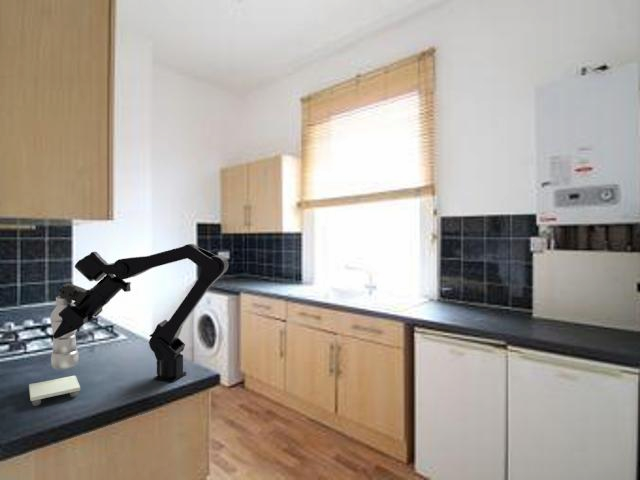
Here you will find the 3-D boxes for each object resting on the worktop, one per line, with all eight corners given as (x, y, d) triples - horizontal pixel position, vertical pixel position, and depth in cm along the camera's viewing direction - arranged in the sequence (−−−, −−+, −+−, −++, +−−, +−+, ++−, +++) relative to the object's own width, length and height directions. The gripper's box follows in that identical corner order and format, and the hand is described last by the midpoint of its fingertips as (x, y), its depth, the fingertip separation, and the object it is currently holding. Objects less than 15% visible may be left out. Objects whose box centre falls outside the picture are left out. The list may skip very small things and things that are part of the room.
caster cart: (75, 384, 103) (75, 375, 103) (80, 397, 96) (80, 387, 96) (29, 393, 97) (29, 384, 97) (30, 408, 89) (30, 397, 89)
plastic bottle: (79, 362, 110) (78, 294, 109) (77, 370, 104) (76, 297, 103) (53, 366, 107) (51, 295, 106) (48, 374, 101) (47, 299, 100)
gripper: (89, 270, 115) (48, 308, 112) (67, 277, 97) (17, 323, 94) (119, 294, 117) (79, 333, 114) (102, 306, 99) (54, 351, 96)
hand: (58, 334), depth 105 cm, fingers closed on plastic bottle, 6 cm apart
